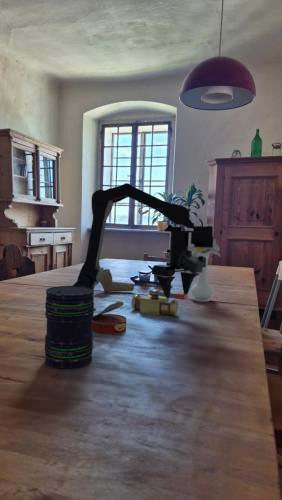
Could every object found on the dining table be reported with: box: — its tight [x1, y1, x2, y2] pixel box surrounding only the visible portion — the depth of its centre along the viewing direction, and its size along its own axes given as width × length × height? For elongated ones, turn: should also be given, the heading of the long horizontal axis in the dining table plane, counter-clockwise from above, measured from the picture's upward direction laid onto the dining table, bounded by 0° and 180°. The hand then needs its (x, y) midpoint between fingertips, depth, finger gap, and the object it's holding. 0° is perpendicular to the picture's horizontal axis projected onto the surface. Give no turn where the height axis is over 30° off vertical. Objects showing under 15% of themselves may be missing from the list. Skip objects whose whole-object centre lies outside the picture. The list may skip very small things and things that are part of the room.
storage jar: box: [44, 285, 95, 371], centre depth 71 cm, size 10×10×15 cm
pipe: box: [99, 268, 136, 293], centre depth 145 cm, size 6×17×10 cm, turn 99°
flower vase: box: [188, 238, 221, 303], centre depth 135 cm, size 13×18×25 cm
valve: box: [130, 294, 179, 317], centre depth 114 cm, size 7×15×6 cm, turn 61°
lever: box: [148, 288, 189, 301], centre depth 111 cm, size 13×4×2 cm, turn 62°
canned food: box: [92, 301, 127, 335], centre depth 94 cm, size 11×10×10 cm
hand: (176, 296), depth 107 cm, fingers open, 9 cm apart
